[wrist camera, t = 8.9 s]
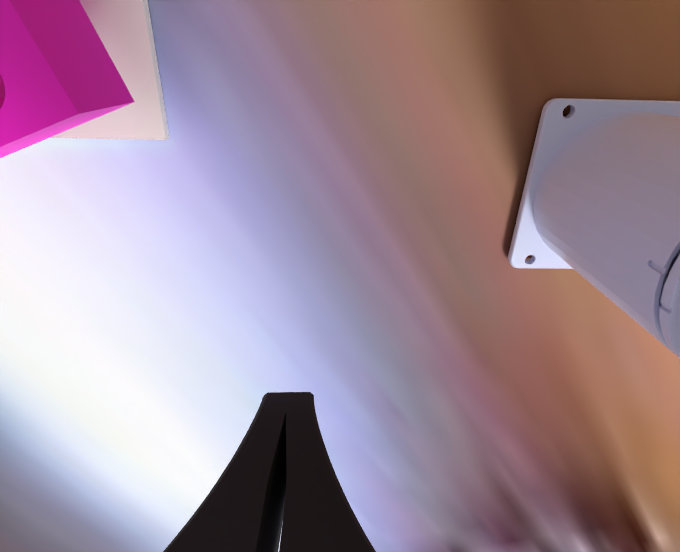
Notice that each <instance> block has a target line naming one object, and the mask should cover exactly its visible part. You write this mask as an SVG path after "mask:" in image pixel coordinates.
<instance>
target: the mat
mask: <svg viewBox="0 0 680 552" xmlns="http://www.w3.org/2000/svg"><path fill="white" fill-rule="evenodd" d="M79 1H80V3H81V4H82V6H83V8H84V10H85V12H86V13H87V15H88V17H89V19H90V21H91V23H92V24H93V26H94V28H95V30H96V32H97V34H98V35H99V37H100V39H101V41H102V43H103V45H104V46H105V48H106V50H107V52H108V54H109V56H110V57H111V59H112V61H113V63H114V65H115V67H116V68H117V70H118V72H119V74H120V76H121V78H122V79H123V81H124V83H125V85H126V87H127V89H128V90H129V92H130V94H131V96H132V98H133V99H134V101H135V102H133V103H131V104H129V105H126V106H124V107H121V108H119V109H117V110H114V111H112V112H109V113H107V114H105V115H102V116H100V117H97V118H95V119H93V120H90V121H88V122H85V123H83V124H81V125H78V126H76V127H73V128H71V129H69V130H66V131H64V132H61V133H59V134H57V135H54V136H52V137H49V138H96V139H148V140H167V139H169V138H170V137H169V130H168V124H167V118H166V112H165V106H164V99H163V93H162V87H161V81H160V75H159V68H158V62H157V56H156V50H155V44H154V37H153V31H152V25H151V19H150V13H149V6H148V0H79Z"/></svg>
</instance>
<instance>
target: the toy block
mask: <svg viewBox="0 0 680 552" xmlns="http://www.w3.org/2000/svg"><path fill="white" fill-rule="evenodd" d="M133 102H135V101H134V99H133V98H132V96H131V94H130V92H129V90H128V89H127V87H126V85H125V83H124V81H123V79H122V78H121V76H120V74H119V72H118V70H117V68H116V67H115V65H114V63H113V61H112V59H111V57H110V56H109V54H108V52H107V50H106V48H105V46H104V45H103V43H102V41H101V39H100V37H99V35H98V34H97V32H96V30H95V28H94V26H93V24H92V23H91V21H90V19H89V17H88V15H87V13H86V12H85V10H84V8H83V6H82V4H81V3H80V1H79V0H0V158H2V157H4V156H6V155H9V154H11V153H14V152H16V151H18V150H21V149H23V148H25V147H28V146H30V145H33V144H35V143H37V142H40V141H42V140H45V139H47V138H49V137H52V136H54V135H57V134H59V133H61V132H64V131H66V130H69V129H71V128H73V127H76V126H78V125H81V124H83V123H85V122H88V121H90V120H93V119H95V118H97V117H100V116H102V115H105V114H107V113H109V112H112V111H114V110H117V109H119V108H121V107H124V106H126V105H129V104H131V103H133Z"/></svg>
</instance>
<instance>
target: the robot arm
mask: <svg viewBox="0 0 680 552" xmlns="http://www.w3.org/2000/svg"><path fill="white" fill-rule="evenodd" d="M568 105H569V106H570V112H569V114H568V115H567V116H566V117H564V116H563V110H564V108H565V107H566V106H568ZM529 255H532V257H531V259H530V260H528V261H525V259H526V257H527V256H529ZM508 261H509V263H510V264H511V265H512V266H513V267H515V268H569V269H574V270H576V271H577V272H578V273H579V274H580V275H581V276H583V277H584V278H585V279H586V280H587V281H589V282H590V283H591V284H592V285H593V286H595V287H596V288H597V289H598V290H599V291H600V292H602V293H603V294H604V295H605V296H606V297H608V298H609V299H610V300H611V301H612V302H613V303H615V304H616V305H617V306H618V307H619V308H621V309H622V310H623V311H624V312H625V313H627V314H628V315H629V316H630V317H631V318H632V319H634V320H635V321H636V322H637V323H638V324H640V325H641V326H642V327H643V328H644V329H646V330H647V331H648V332H649V333H650V334H651V335H653V336H654V337H655V338H656V339H657V340H659V341H660V342H661V343H662V344H663V345H665V346H666V347H667V348H668V349H669V350H670V351H672V352H673V353H674V354H676V355H677V356H678V357H679V358H680V101H658V100H615V99H573V98H554V99H551V100H549V101H548V102H547V103H546V104H545V105H544V107H543V110H542V113H541V118H540V122H539V126H538V130H537V135H536V139H535V143H534V148H533V152H532V156H531V160H530V165H529V169H528V173H527V178H526V182H525V186H524V190H523V195H522V199H521V203H520V208H519V212H518V216H517V220H516V225H515V229H514V233H513V238H512V242H511V246H510V250H509V255H508ZM282 521H283V524H282ZM281 528H282V533H281ZM280 535H281V542H280V550H279V552H376V551H375V550H374V548H373V546H372V545H371V543H370V541H369V540H368V538H367V536H366V535H365V533H364V531H363V529H362V527H361V526H360V524H359V522H358V520H357V518H356V516H355V514H354V512H353V511H352V509H351V507H350V505H349V503H348V501H347V499H346V496H345V494H344V492H343V490H342V488H341V486H340V483H339V481H338V479H337V476H336V474H335V472H334V469H333V467H332V464H331V462H330V459H329V456H328V453H327V451H326V448H325V445H324V442H323V439H322V436H321V433H320V429H319V425H318V421H317V417H316V413H315V407H314V395H313V394H312V393H310V392H281V393H267V394H265V395H264V397H263V399H262V402H261V404H260V407H259V409H258V411H257V413H256V416H255V418H254V420H253V422H252V424H251V426H250V428H249V430H248V431H247V433H246V435H245V437H244V439H243V440H242V442H241V444H240V446H239V447H238V449H237V451H236V453H235V454H234V456H233V458H232V459H231V461H230V462H229V464H228V466H227V467H226V469H225V470H224V472H223V473H222V475H221V477H220V478H219V480H218V481H217V483H216V484H215V486H214V487H213V489H212V490H211V491H210V493H209V494H208V496H207V497H206V498H205V500H204V501H203V503H202V504H201V505H200V507H199V508H198V509H197V511H196V512H195V513H194V515H193V516H192V517H191V518H190V520H189V521H188V522H187V523H186V525H185V526H184V527H183V528H182V530H181V531H180V532H179V533H178V535H177V536H176V537H175V538H174V539H173V541H172V542H171V543H170V544H169V545H168V547H167V548H166V549H165V550H164V551H163V552H278V548H279V541H280Z"/></svg>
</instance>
